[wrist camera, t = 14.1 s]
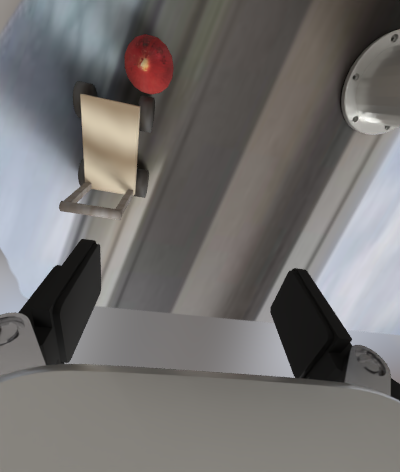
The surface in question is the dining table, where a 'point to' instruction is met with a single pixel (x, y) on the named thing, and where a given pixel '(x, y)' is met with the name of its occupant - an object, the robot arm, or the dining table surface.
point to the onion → (148, 64)
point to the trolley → (109, 149)
